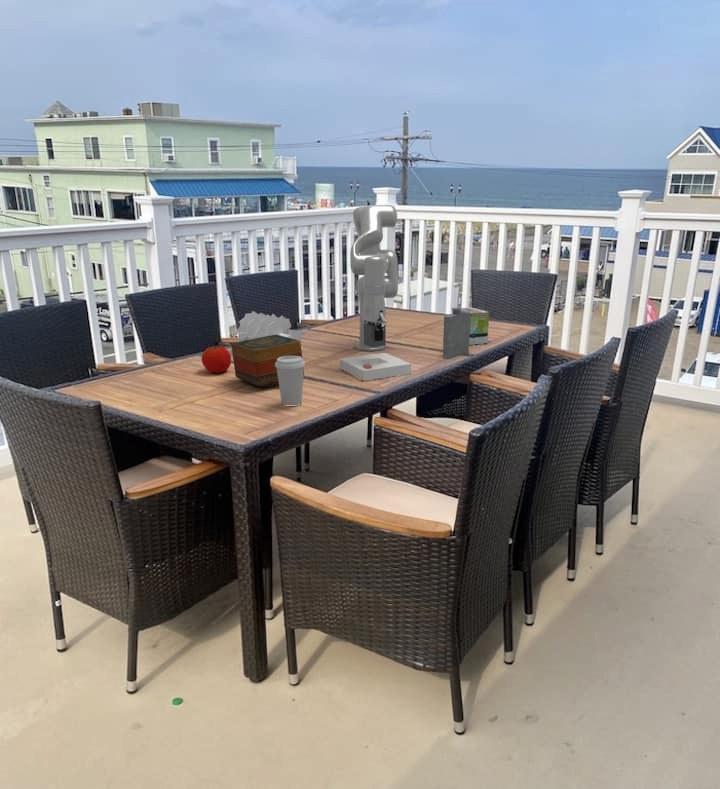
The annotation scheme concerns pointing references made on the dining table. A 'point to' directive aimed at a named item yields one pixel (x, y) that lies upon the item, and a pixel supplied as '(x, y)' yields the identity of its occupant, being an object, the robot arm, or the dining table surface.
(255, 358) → the decorative box
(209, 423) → the dining table surface
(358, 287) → the robot arm
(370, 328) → the plug
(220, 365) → the tomato
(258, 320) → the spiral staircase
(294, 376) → the coffee cup
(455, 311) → the hip flask
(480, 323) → the tea box
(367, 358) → the socket
